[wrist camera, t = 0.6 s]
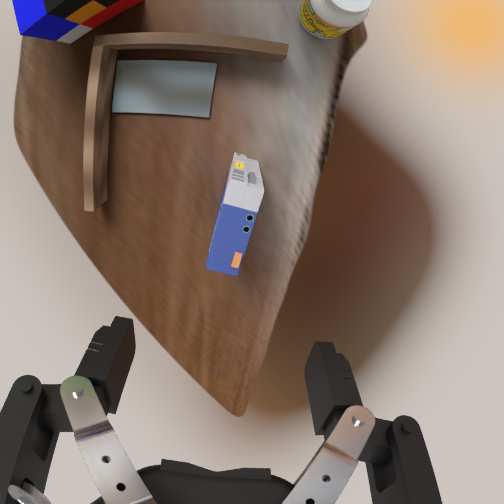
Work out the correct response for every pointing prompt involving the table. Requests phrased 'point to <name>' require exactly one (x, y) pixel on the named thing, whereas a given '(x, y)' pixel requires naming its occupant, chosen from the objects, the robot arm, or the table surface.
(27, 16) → the puzzle toy
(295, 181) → the table surface
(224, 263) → the walkman
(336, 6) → the supplement bottle
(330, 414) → the robot arm
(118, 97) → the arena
